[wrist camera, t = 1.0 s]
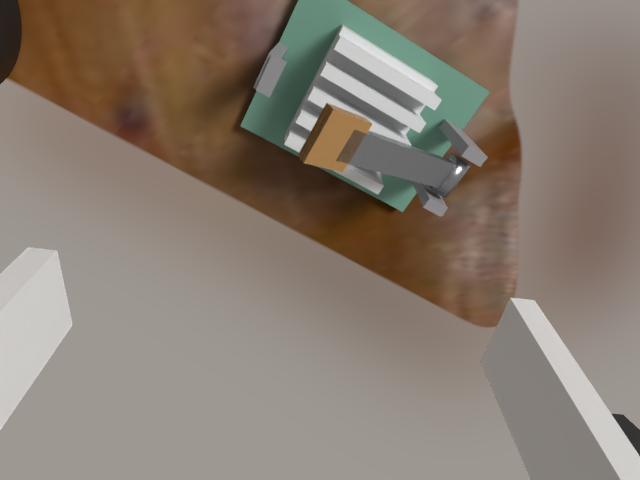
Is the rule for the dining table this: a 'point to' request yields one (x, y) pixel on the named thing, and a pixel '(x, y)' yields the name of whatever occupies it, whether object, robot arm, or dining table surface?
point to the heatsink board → (363, 93)
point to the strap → (376, 152)
